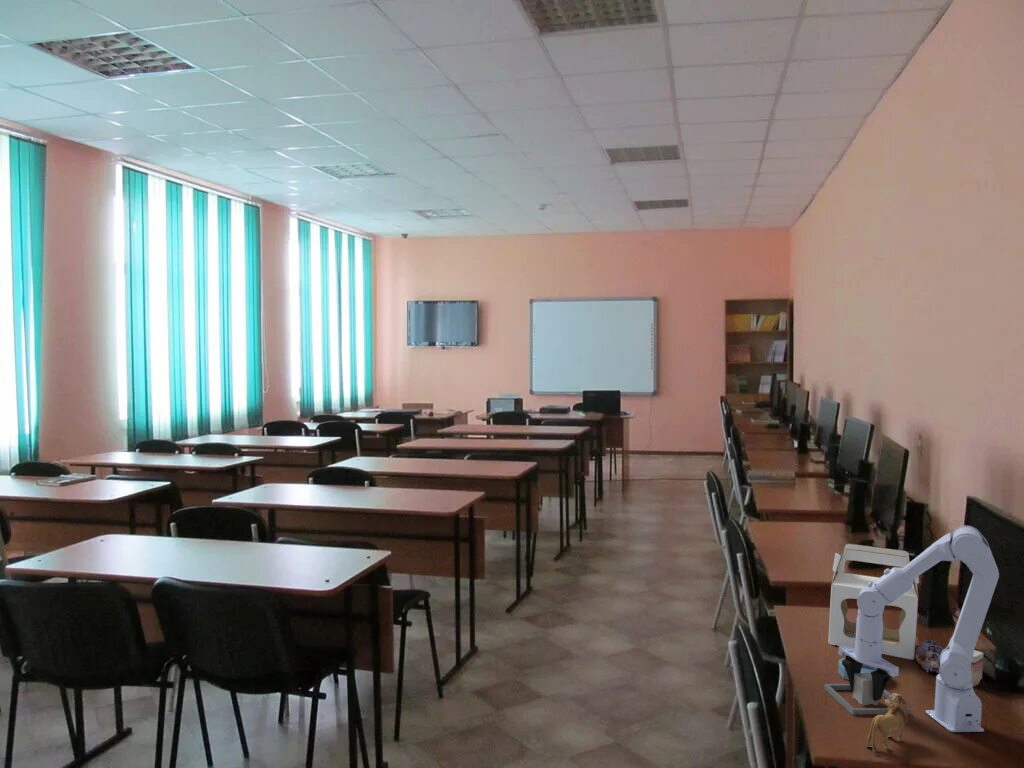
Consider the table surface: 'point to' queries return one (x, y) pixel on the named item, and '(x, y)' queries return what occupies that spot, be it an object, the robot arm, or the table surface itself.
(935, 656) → the skull
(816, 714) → the table surface
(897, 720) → the lion figurine
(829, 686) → the tray
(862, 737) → the table surface
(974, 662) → the small box
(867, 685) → the stone block
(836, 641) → the gable box
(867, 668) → the bowl
